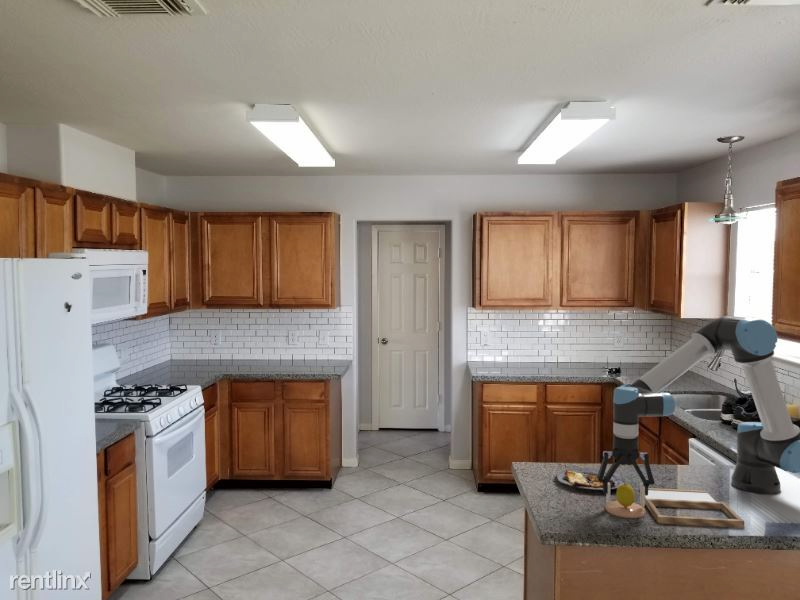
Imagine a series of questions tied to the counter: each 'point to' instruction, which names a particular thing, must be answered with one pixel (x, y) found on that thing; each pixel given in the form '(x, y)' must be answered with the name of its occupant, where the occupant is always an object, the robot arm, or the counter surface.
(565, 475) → the food plate
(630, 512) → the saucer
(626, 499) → the lemon
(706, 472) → the counter surface
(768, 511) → the counter surface
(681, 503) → the wooden frame
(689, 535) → the counter surface
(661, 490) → the lid
